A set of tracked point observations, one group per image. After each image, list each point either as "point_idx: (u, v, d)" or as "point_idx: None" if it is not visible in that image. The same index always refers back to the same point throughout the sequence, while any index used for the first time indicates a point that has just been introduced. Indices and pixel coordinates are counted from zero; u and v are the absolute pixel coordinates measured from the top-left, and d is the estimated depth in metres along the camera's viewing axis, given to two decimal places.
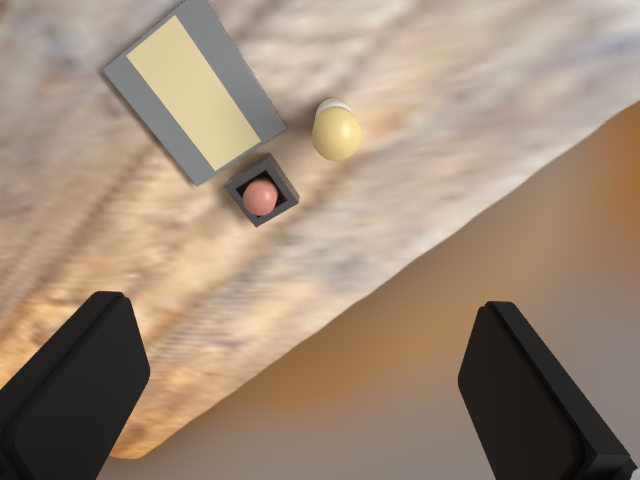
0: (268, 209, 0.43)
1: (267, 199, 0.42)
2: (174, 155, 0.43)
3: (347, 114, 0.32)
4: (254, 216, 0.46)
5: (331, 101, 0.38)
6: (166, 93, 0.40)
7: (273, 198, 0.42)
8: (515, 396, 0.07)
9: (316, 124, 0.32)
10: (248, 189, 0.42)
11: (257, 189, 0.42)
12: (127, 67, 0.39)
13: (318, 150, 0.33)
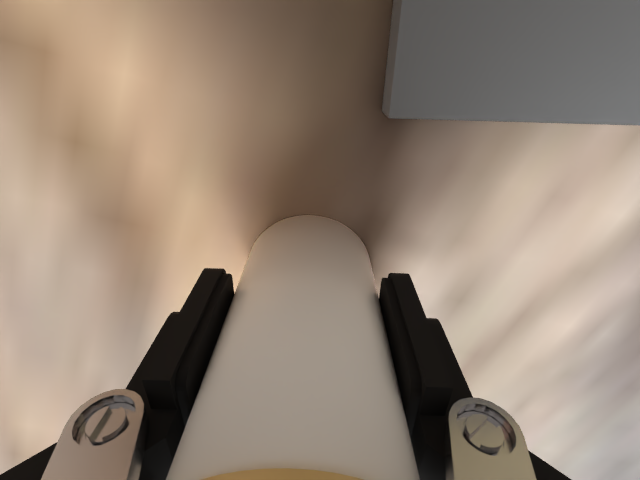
0: None
1: None
2: None
3: None
4: None
5: None
6: None
7: None
8: (393, 351, 0.08)
9: None
10: None
11: None
12: None
13: None
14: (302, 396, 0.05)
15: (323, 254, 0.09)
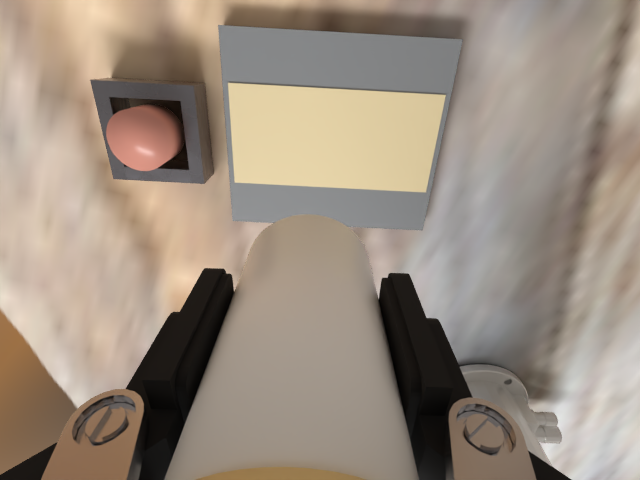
0: (115, 145, 0.23)
1: (134, 155, 0.23)
2: (289, 34, 0.23)
3: None
4: (114, 94, 0.23)
5: None
6: (370, 108, 0.25)
7: (132, 165, 0.24)
8: (393, 351, 0.08)
9: None
10: (165, 139, 0.23)
11: (158, 153, 0.23)
12: (435, 82, 0.24)
13: None
14: (300, 393, 0.05)
15: (322, 253, 0.09)
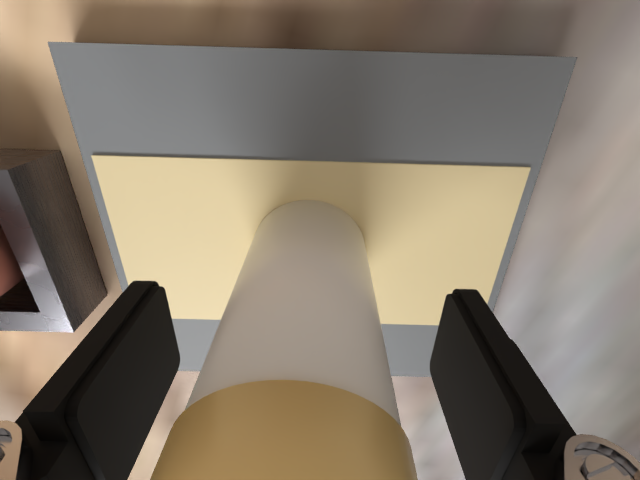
0: None
1: None
2: (201, 57, 0.11)
3: None
4: None
5: None
6: (378, 194, 0.13)
7: None
8: (473, 376, 0.08)
9: None
10: None
11: None
12: (510, 143, 0.12)
13: None
14: (298, 333, 0.07)
15: (320, 231, 0.10)
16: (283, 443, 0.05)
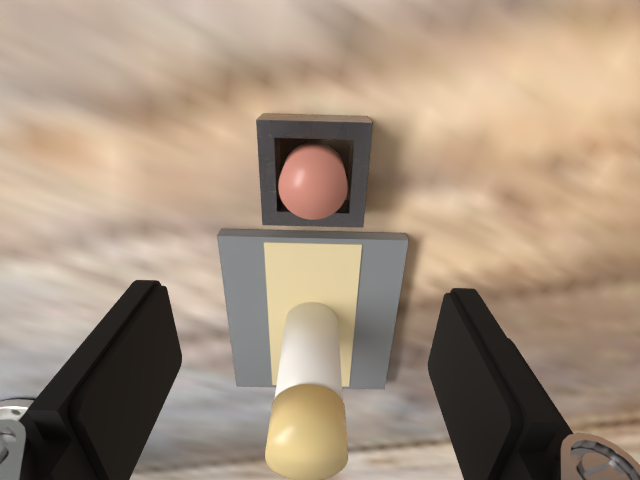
0: (307, 162, 0.19)
1: (296, 181, 0.20)
2: (396, 291, 0.28)
3: (274, 469, 0.20)
4: (357, 146, 0.21)
5: None
6: (339, 345, 0.30)
7: (283, 176, 0.20)
8: (470, 375, 0.08)
9: (324, 477, 0.20)
10: (316, 217, 0.21)
11: (300, 208, 0.21)
12: (357, 379, 0.32)
13: (345, 455, 0.19)
14: None
15: None
16: None
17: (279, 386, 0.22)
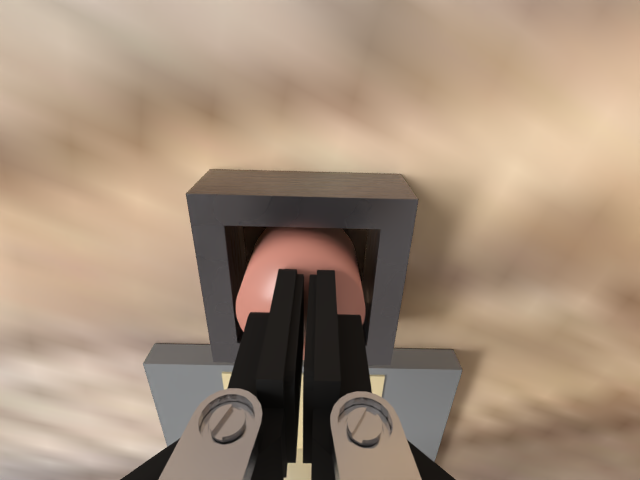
0: None
1: (268, 301, 0.11)
2: (436, 434, 0.17)
3: None
4: (385, 241, 0.11)
5: None
6: None
7: (244, 293, 0.10)
8: None
9: None
10: None
11: None
12: None
13: None
14: None
15: None
16: None
17: None
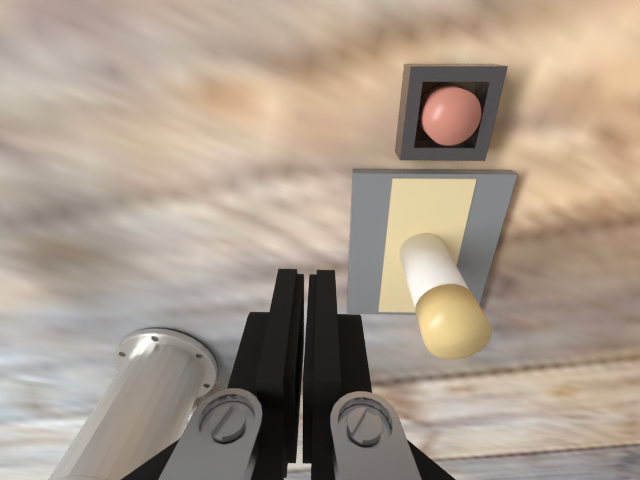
0: (452, 96, 0.25)
1: (440, 112, 0.25)
2: (500, 222, 0.32)
3: (428, 347, 0.25)
4: (491, 88, 0.25)
5: None
6: None
7: (431, 108, 0.25)
8: None
9: (466, 355, 0.25)
10: (451, 143, 0.27)
11: (440, 135, 0.26)
12: None
13: (489, 334, 0.24)
14: None
15: None
16: None
17: (420, 289, 0.27)
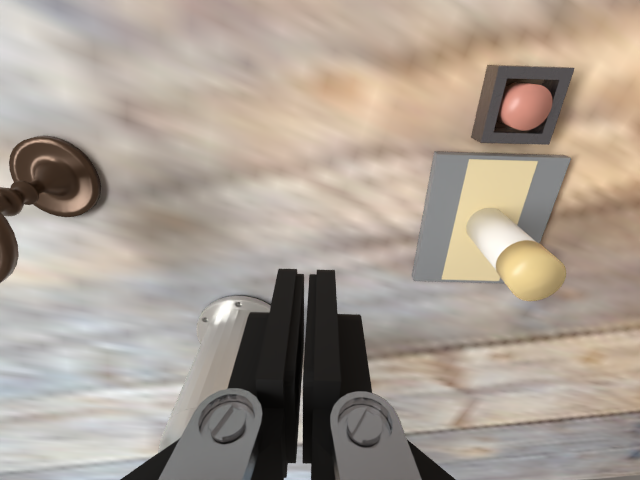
0: (531, 90, 0.31)
1: (520, 103, 0.32)
2: (553, 199, 0.38)
3: (513, 290, 0.31)
4: (560, 85, 0.32)
5: None
6: None
7: (513, 99, 0.32)
8: None
9: (542, 297, 0.31)
10: (525, 128, 0.33)
11: (518, 122, 0.33)
12: None
13: (563, 278, 0.30)
14: None
15: None
16: None
17: (500, 247, 0.33)
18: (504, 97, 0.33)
